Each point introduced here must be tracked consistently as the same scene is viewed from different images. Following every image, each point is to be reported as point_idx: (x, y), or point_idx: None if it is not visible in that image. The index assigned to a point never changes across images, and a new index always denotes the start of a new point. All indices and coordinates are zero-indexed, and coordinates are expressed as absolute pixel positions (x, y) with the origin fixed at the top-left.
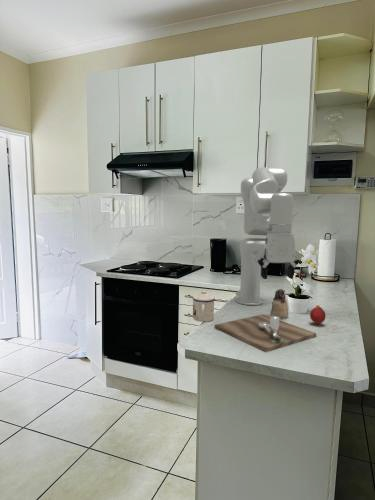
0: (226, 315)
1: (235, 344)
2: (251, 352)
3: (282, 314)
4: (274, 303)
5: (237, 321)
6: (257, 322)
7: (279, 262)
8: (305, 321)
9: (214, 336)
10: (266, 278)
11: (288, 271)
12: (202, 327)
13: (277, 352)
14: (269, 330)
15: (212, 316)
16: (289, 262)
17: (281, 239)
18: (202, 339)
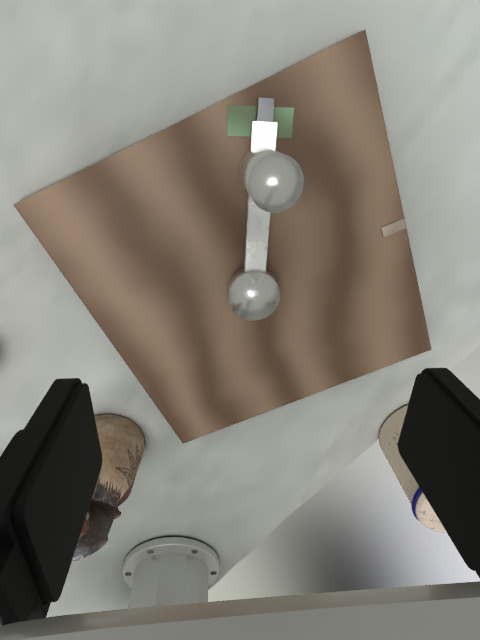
0: (316, 454)
1: (441, 156)
2: (425, 43)
3: (103, 426)
4: (126, 480)
5: (323, 376)
6: (246, 361)
7: (398, 595)
8: (11, 383)
9: (473, 256)
10: (432, 369)
11: (76, 509)
12: (464, 350)
13: (304, 18)
14: (262, 221)
15: (400, 422)
16: (53, 621)
17: None
18: None
